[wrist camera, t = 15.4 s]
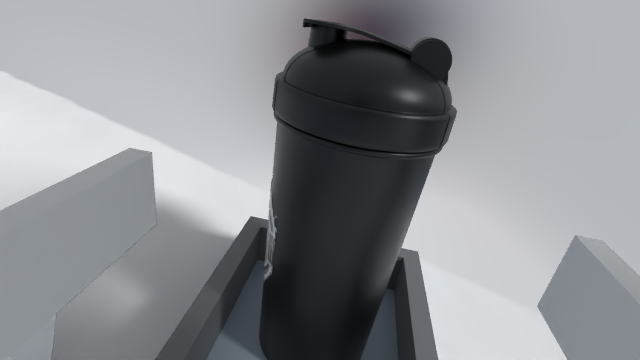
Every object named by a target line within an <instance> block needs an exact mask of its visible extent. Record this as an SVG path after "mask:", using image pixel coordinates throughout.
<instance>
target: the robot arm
mask: <svg viewBox="0 0 640 360" xmlns="http://www.w3.org/2000/svg"><path fill="white" fill-rule="evenodd" d="M156 225H157V219H156V204H155V190H154V175H153V160H152V152H148V151H143V150H138V149H132V148H129V149H127V150H125V151H123V152H120V153H118V154H116V155H114V156H112V157H110V158H108V159H106V160H104V161H102V162H100V163H98V164H96V165H94V166H92V167H90V168H87V169H85V170H83V171H81V172H79V173H77V174H75V175H73V176H71V177H69V178H67V179H65V180H63V181H61V182H59V183H57V184H54V185H52V186H50V187H48V188H46V189H44V190H42V191H40V192H38V193H36V194H34V195H32V196H30V197H28V198H26V199H24V200H21V201H19V202H17V203H15V204H13V205H11V206H9V207H7V208H5V209H3V210H1V211H0V360H5V359H6V358H7V357H8V356H9V355H10V354H11V353H13V352H14V351H15V350H16V349H17V348H18V347H19V346H20V345H22V344H23V343H24V342H25V341H26V340H27V339H28V338H29V337H31V336H32V335H33V334H34V333H35V332H36V331H37V330H38V329H40V328H41V327H42V326H43V325H44V324H45V323H46V322H48V321H49V320H50V319H51V318H52V317H53V316H54V315H55V314H57V313H58V312H59V311H60V310H61V309H62V308H63V307H64V306H66V305H67V304H68V303H69V302H70V301H71V300H72V299H73V298H75V297H76V296H77V295H78V294H79V293H80V292H81V291H82V290H84V289H85V288H86V287H87V286H88V285H89V284H90V283H91V282H93V281H94V280H95V279H96V278H97V277H98V276H99V275H100V274H102V273H103V272H104V271H105V270H106V269H107V268H108V267H110V266H111V265H112V264H113V263H114V262H115V261H116V260H117V259H119V258H120V257H121V256H122V255H123V254H124V253H125V252H126V251H128V250H129V249H130V248H131V247H132V246H133V245H134V244H135V243H137V242H138V241H139V240H140V239H141V238H142V237H143V236H144V235H146V234H147V233H148V232H149V231H150V230H151V229H152V228H153V227H155V226H156ZM538 308H539V310H540V312H541V314H542V315H543V317H544V319H545V321H546V322H547V324H548V326H549V328H550V330H551V331H552V333H553V335H554V337H555V338H556V340H557V342H558V344H559V345H560V347H561V349H562V351H563V353H564V354H565V356H566V358H567V360H640V276H639V275H638V274H637V273H636V272H635V271H634V270H633V269H632V268H631V267H630V266H629V265H627V263H625V262H624V261H623V260H622V259H621V258H620V257H619V256H618V255H617V254H616V253H615V252H614V251H613V250H612V249H611V248H610V247H609V246H608V245H607V244H606V243H605V242H603V241H602V240H597V239H592V238H586V237H582V236H576V235H575V236H574V238H573V240H572V242H571V244H570V246H569V248H568V249H567V251H566V253H565V255H564V257H563V259H562V261H561V263H560V264H559V266H558V268H557V270H556V272H555V274H554V276H553V277H552V279H551V281H550V283H549V285H548V287H547V289H546V291H545V293H544V294H543V296H542V298H541V300H540V302H539V303H538Z"/></svg>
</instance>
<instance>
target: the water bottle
mask: <svg viewBox="0 0 640 360" xmlns="http://www.w3.org/2000/svg"><path fill="white" fill-rule="evenodd" d="M303 27H311V32H310V38H309V43H308V47H307V48H305V49H303V50H301V51H300V52H298V53H297V54H295V55H294V56H293V57H292V58H291V59H290V60H289V62H288V63H287V65H286V66H285V69H284V71H283V72H281V73H279V74H277V75H276V78H275V86H274V94H273V104H272V107H273V110H274V117H275V119H276V121H277V132H276V143H275V154H274V166H273V178H272V182H271V192H270V203H269V215H268V218H269V221H268V227H267V239H266V244H267V247H266V251H265V262H264V274H263V276H264V282H263V294H262V305H261V317H260V328H259V340H260V345H261V348H262V351H263V353H264V355H265V357H266V358H267V360H360V359H361V357H362V354H363V351H364V349H365V346H366V343H367V340H368V338H369V335H370V332H371V329H372V327H373V324H374V321H375V318H376V316H377V313H378V310H379V307H380V305H381V302H382V299H383V296H384V294H385V291H386V288H387V285H388V283H389V280H390V277H391V274H392V272H393V269H394V266H395V263H396V261H397V258H398V255H399V253H400V250H401V247H402V244H403V242H404V239H405V236H406V233H407V231H408V228H409V225H410V222H411V219H412V217H413V214H414V211H415V208H416V206H417V203H418V200H419V197H420V195H421V192H422V189H423V187H424V184H425V181H426V178H427V176H428V173H429V169H430V167H431V164H432V162H433V159H434V156H435V155H436V154H437V153H439V152H440V151H441V150H442V147H443V146H444V145H445V144H446V143H447V141H448V138H449V135H450V132H451V129H452V126H453V123H454V120H455V117H456V113H457V111H456V109H455V108H454V107H453V106H452V105H451V103H452V97H451V92H450V89H449V87H448V84H447V81H448V71H449V70H450V67H451V64H452V54H451V52H450V49H449V47H448V45H447V44H446V43H445V42H443V41H442V40H439V39H436V38H431V37H425V38H422V39H419V40H418V41H416V42H415V43H414V44H413V45H412V46H411V48H408V47H406V46H403V45H401V44H398V43H396V42H394V41H391V40H389V39H387V38H384V37H382V36H379V35H377V34H375V33H372V32H369V31H366V30H364V29H360V28H357V27H353V26H349V25H344V24H340V23H334V22H328V21H320V20H312V19H304V21H303ZM348 31H351V32H355V33H358V34H362V35H364V36H367V37H369V38H372V39H374V40H376V41H379V42H376V41H370V40H361V39H347V35H348Z"/></svg>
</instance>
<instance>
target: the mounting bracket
mask: <svg viewBox="0 0 640 360" xmlns="http://www.w3.org/2000/svg"><path fill="white" fill-rule="evenodd" d="M55 322H56V314H55V315H54V316H53V317H52V318H51V319H50V320H49V321H48V322H46V323H45V324H44V325H43V326H42V327H41V328H40V329H38V330H37V331H36V332H35V333H34V334H33V335H32V336H31V337H29V338H28V339H27V340H26V341H25V342H24V343H23V344H22V345H20V346H19V347H18V348H17V349H16V350H15V351H14V352H13V353H11V354H10V355H9V356H8V357H7V358H6V359H5V360H51V358H52V349H53V340H54V331H55Z"/></svg>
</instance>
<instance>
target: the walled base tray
mask: <svg viewBox="0 0 640 360" xmlns="http://www.w3.org/2000/svg"><path fill="white" fill-rule="evenodd" d="M268 221H269V220H266V219H261V218H257V217H252V216H251V217H250V218H249V220H248V221H247V223H246V224H245V226H244V227H243V229H242V230H241V232H240V233H239V235H238V236H237V238H236V239H235V241H234V242H233V244H232V245H231V247H230V248H229V250H228V251H227V253H226V254H225V256H224V257H223V259H222V260H221V262H220V263H219V265H218V266H217V268H216V269H215V271H214V272H213V274H212V275H211V277H210V278H209V280H208V281H207V283H206V284H205V286H204V287H203V289H202V290H201V292H200V293H199V295H198V296H197V298H196V299H195V301H194V302H193V304H192V305H191V307H190V308H189V310H188V311H187V313H186V314H185V316H184V317H183V319H182V320H181V322H180V323H179V325H178V326H177V328H176V329H175V331H174V332H173V334H172V335H171V337H170V338H169V340H168V341H167V343H166V344H165V346H164V347H163V349H162V350H161V352H160V353H159V355H158V356H157V358H156V359H155V360H267V358H266V357H265V355H264V353H263V351H262V348H261V345H260V340H259V328H260V317H261V305H262V294H263V282H264V276H263V274H264V262H265V251H266V247H267V244H266V239H267V227H268ZM360 360H438V356H437V351H436V345H435V340H434V335H433V329H432V324H431V319H430V313H429V308H428V303H427V297H426V292H425V287H424V281H423V276H422V271H421V265H420V260H419V255H418V252H417V251H412V250H407V249H403V248H401V250H400V253H399V255H398V258H397V261H396V263H395V266H394V269H393V272H392V274H391V277H390V280H389V283H388V285H387V288H386V291H385V294H384V296H383V299H382V302H381V305H380V307H379V310H378V313H377V316H376V318H375V321H374V324H373V327H372V329H371V332H370V335H369V338H368V340H367V343H366V346H365V349H364V351H363V354H362V357H361V359H360Z"/></svg>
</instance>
